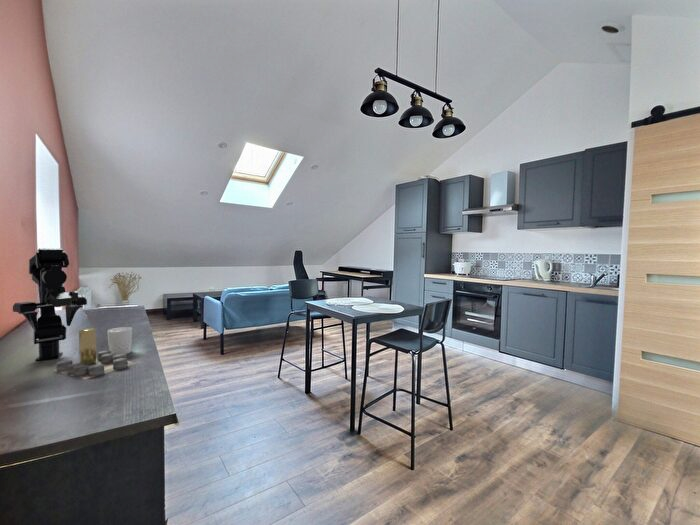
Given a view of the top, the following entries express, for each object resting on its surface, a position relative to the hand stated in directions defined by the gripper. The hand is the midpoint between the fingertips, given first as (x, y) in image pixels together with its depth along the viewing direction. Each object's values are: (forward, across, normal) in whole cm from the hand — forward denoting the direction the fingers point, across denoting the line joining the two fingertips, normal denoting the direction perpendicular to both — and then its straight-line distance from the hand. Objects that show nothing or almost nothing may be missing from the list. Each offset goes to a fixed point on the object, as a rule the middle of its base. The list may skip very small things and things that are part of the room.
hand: (52, 328), depth 114 cm
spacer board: (+13, +4, -18) cm, 22 cm away
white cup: (+13, +17, -9) cm, 23 cm away
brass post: (+12, +4, -13) cm, 18 cm away
